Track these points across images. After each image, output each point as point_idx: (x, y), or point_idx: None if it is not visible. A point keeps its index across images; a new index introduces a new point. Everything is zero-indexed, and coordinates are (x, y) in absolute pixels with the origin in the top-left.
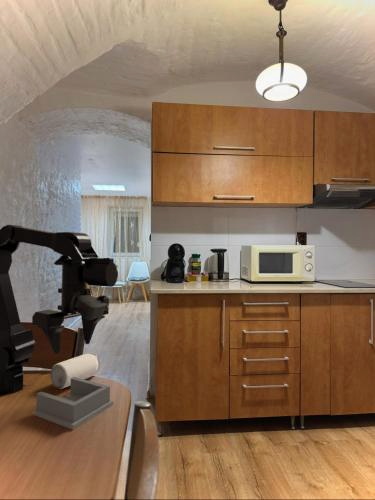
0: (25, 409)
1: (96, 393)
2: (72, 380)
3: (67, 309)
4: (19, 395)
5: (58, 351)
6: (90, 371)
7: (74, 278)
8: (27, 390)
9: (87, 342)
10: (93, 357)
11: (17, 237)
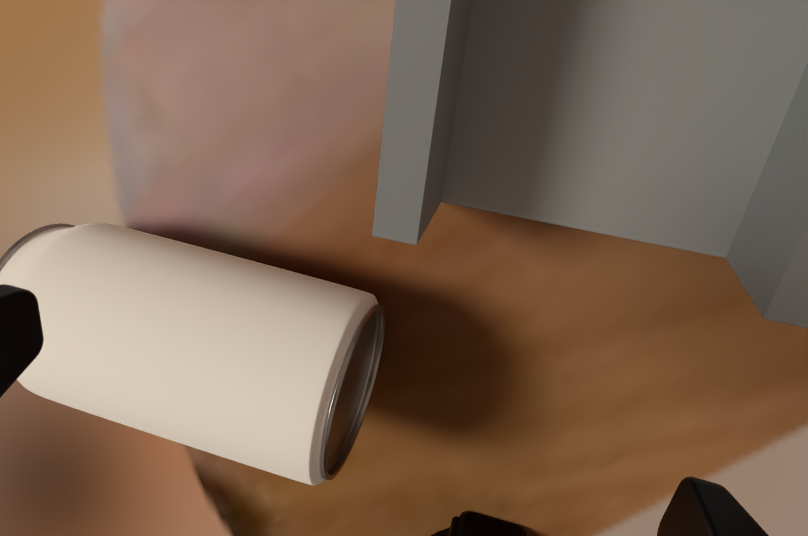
0: (706, 356)
1: None
2: (421, 218)
3: None
4: (540, 486)
5: (735, 513)
6: (143, 240)
7: None
8: (468, 482)
9: (12, 316)
10: None
11: None
